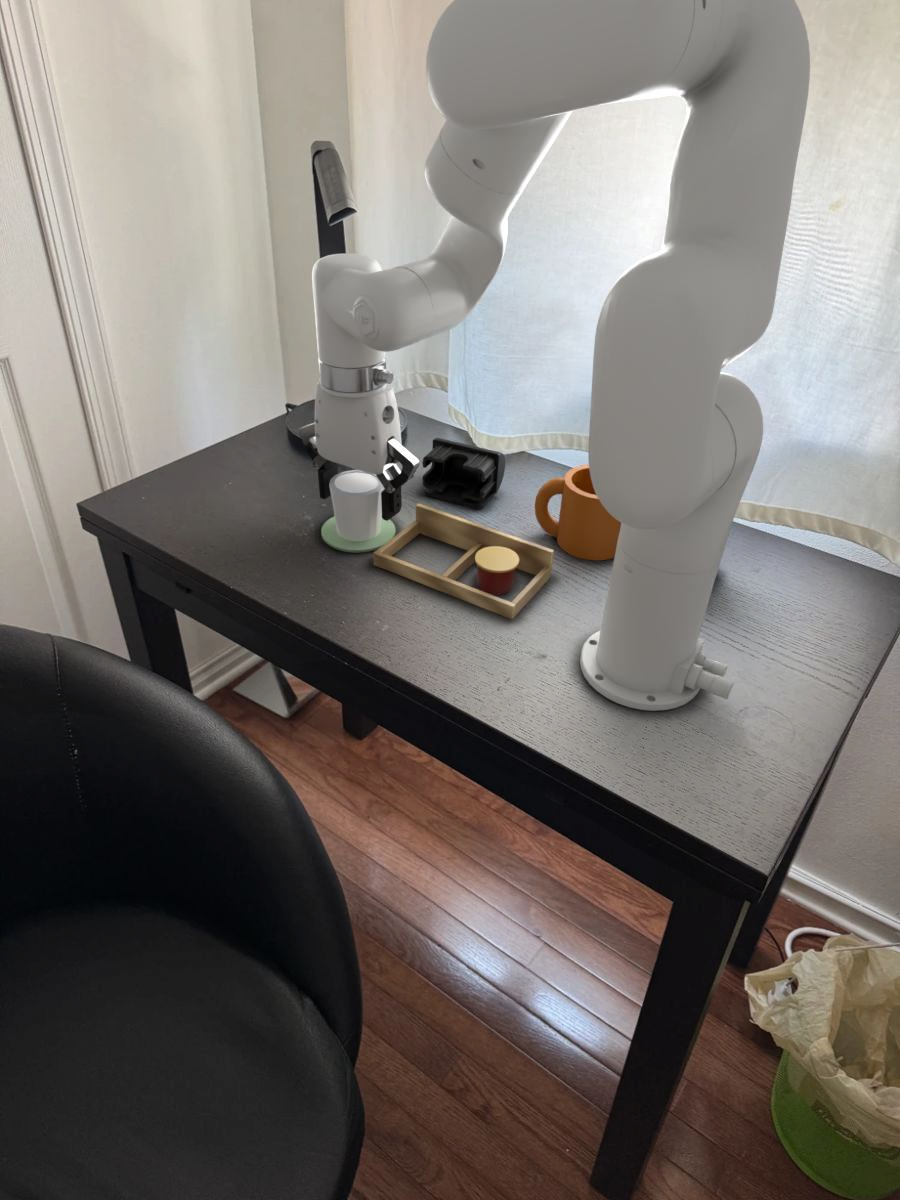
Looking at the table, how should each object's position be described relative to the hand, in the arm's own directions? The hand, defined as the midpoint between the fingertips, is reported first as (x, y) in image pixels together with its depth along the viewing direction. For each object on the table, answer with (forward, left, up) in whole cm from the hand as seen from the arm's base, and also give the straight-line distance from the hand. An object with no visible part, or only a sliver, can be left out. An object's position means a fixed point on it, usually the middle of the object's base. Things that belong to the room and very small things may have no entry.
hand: (360, 504), depth 100 cm
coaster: (0, 0, -4) cm, 4 cm away
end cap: (-5, -17, -5) cm, 18 cm away
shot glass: (0, 0, -4) cm, 4 cm away
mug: (-24, -15, -5) cm, 29 cm away
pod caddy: (-15, 0, -4) cm, 16 cm away
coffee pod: (-20, 0, -4) cm, 20 cm away
